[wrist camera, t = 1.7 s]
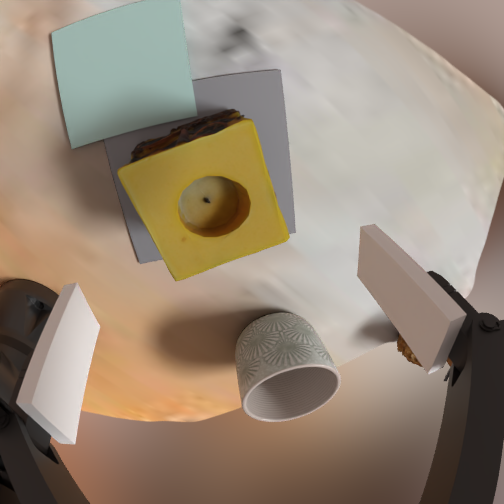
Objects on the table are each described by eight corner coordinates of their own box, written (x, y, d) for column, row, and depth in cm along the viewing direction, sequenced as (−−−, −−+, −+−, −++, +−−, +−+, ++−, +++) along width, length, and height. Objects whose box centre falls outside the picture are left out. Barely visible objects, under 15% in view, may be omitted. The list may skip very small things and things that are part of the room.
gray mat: (140, 262, 34) (140, 264, 33) (97, 105, 24) (96, 105, 24) (294, 231, 35) (295, 232, 35) (279, 69, 26) (280, 69, 26)
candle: (135, 143, 27) (110, 169, 18) (234, 105, 27) (253, 111, 18) (175, 231, 32) (170, 286, 24) (264, 197, 32) (292, 241, 24)
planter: (212, 330, 41) (221, 396, 31) (294, 287, 39) (324, 348, 30) (255, 373, 47) (269, 431, 38) (324, 338, 46) (351, 393, 37)
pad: (74, 148, 26) (71, 149, 25) (53, 33, 19) (51, 32, 19) (197, 115, 27) (197, 115, 27) (179, -6, 20) (179, -7, 20)
